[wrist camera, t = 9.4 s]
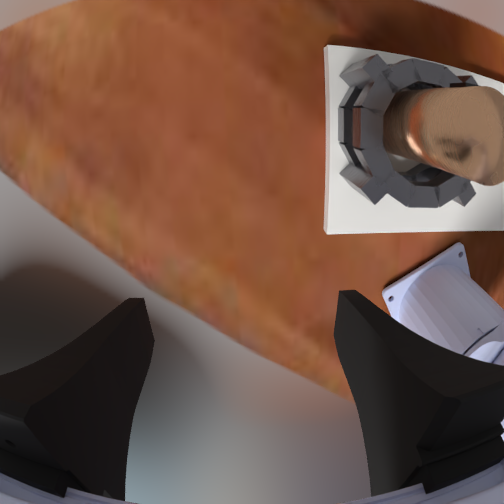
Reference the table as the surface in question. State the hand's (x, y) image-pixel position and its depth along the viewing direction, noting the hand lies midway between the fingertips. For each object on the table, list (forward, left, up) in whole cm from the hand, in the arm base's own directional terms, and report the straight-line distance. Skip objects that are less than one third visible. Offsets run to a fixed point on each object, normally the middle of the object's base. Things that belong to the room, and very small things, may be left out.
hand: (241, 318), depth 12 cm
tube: (+1, -12, -9) cm, 15 cm away
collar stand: (+1, -12, -10) cm, 16 cm away
